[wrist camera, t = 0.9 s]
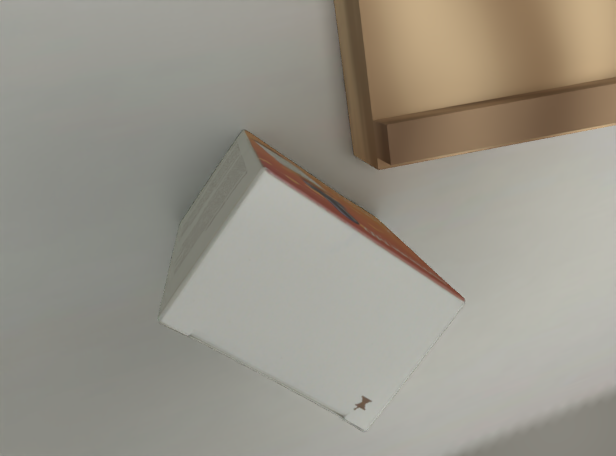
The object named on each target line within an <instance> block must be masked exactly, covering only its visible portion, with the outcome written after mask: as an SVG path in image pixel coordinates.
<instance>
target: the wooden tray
mask: <svg viewBox="0 0 616 456" xmlns="http://www.w3.org/2000/svg"><path fill="white" fill-rule="evenodd" d="M334 5H335V13H336V21H337V28H338V36H339V44H340V52H341V59H342V67H343V75H344V83H345V90H346V98H347V106H348V114H349V121H350V129H351V137H352V145H353V152H354V156H356V157H358V158H359V159H361V160H363V161H364V162H366V163H368V164H369V165H371V166H373V167H374V168H376V169H378V170H381V169H386V168H391V167H397V166H402V165H407V164H413V163H418V162H423V161H428V160H434V159H439V158H444V157H449V156H455V155H460V154H465V153H471V152H476V151H481V150H486V149H492V148H497V147H502V146H507V145H513V144H518V143H523V142H529V141H534V140H539V139H544V138H550V137H555V136H560V135H565V134H571V133H576V132H581V131H587V130H592V129H597V128H602V127H608V126H613V125H616V0H334Z"/></svg>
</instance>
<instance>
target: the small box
mask: <svg viewBox="0 0 616 456" xmlns="http://www.w3.org/2000/svg"><path fill="white" fill-rule="evenodd" d="M464 304H465V299H464V298H463V297H462V296H461V295H460V294H459V293H458V292H456V291H455V290H454V289H453V288H452V287H451V286H450V285H449V284H447V283H446V282H445V281H444V280H443V279H442V278H441V277H440V276H439V275H438V274H437V273H435V272H434V271H433V270H432V269H431V268H430V267H429V266H428V265H427V264H426V263H425V262H424V261H423V260H422V259H420V258H419V257H418V256H417V255H416V254H415V253H414V252H413V251H412V250H411V249H410V248H409V247H408V246H406V245H405V244H404V243H403V242H402V241H401V240H400V239H399V238H398V237H397V236H396V235H395V234H393V233H392V232H391V231H390V230H389V229H388V228H387V227H386V226H385V225H384V224H383V223H382V222H380V221H379V220H378V219H377V218H376V217H375V216H373V215H371V214H370V213H368V212H367V211H365V210H364V209H362V208H360V207H359V206H357V205H355V204H354V203H352V202H351V201H349V200H348V199H346V198H345V197H343V196H341V195H340V194H338V193H337V192H336V191H334V190H333V189H331V188H330V187H328V186H327V185H325V184H324V183H322V182H321V181H319V180H318V179H317V178H315V177H314V176H312V175H311V174H309V173H308V172H306V171H305V170H304V169H302V168H301V167H299V166H298V165H296V164H295V163H294V162H292V161H291V160H289V159H288V158H286V157H285V156H283V155H282V154H280V153H279V152H278V151H276V150H275V149H273V148H272V147H270V146H269V145H267V144H266V143H264V142H263V141H261V140H260V139H259V138H257V137H256V136H254V135H253V134H251V133H250V132H248V131H246V130H243V131H242V132H241V133H240V135H239V136H238V137H237V139H236V140H235V142H234V143H233V145H232V146H231V148H230V149H229V150H228V152H227V153H226V155H225V156H224V158H223V159H222V161H221V162H220V164H219V165H218V167H217V168H216V170H215V171H214V173H213V174H212V176H211V177H210V179H209V180H208V182H207V183H206V185H205V186H204V188H203V189H202V191H201V192H200V194H199V195H198V197H197V198H196V200H195V201H194V203H193V204H192V206H191V207H190V209H189V210H188V212H187V214H186V215H185V217H184V218H183V220H182V221H181V223H180V224H179V229H178V233H177V237H176V241H175V245H174V249H173V253H172V257H171V262H170V266H169V271H168V275H167V280H166V284H165V288H164V293H163V297H162V301H161V305H160V310H159V314H158V321H159V323H161V324H162V325H164V326H166V327H169V328H171V329H173V330H175V331H177V332H179V333H181V334H184V335H186V336H188V337H190V338H192V339H194V340H196V341H198V342H201V343H203V344H204V345H206V346H208V347H210V348H212V349H214V350H216V351H218V352H220V353H222V354H224V355H226V356H228V357H229V358H231V359H233V360H235V361H237V362H239V363H241V364H243V365H245V366H247V367H249V368H250V369H252V370H254V371H256V372H258V373H260V374H262V375H264V376H265V377H267V378H269V379H271V380H273V381H275V382H277V383H279V384H280V385H282V386H284V387H286V388H288V389H290V390H292V391H293V392H295V393H297V394H299V395H301V396H303V397H305V398H306V399H308V400H310V401H312V402H314V403H315V404H317V405H319V406H321V407H323V408H324V409H326V410H328V411H330V412H331V413H333V414H335V415H337V416H338V417H340V418H341V419H343V420H344V421H346V422H347V423H349V424H351V425H353V426H354V427H356V428H357V429H359V430H361V431H363V432H366V431H367V430H368V429H369V428H370V426H371V425H372V424H373V423H374V421H375V420H376V419H377V417H378V416H379V415H380V413H381V412H382V411H383V410H384V409H385V407H386V406H387V405H388V403H389V402H390V401H391V399H392V398H393V397H394V396H395V394H396V393H397V392H398V390H399V389H400V388H401V387H402V385H403V384H404V383H405V381H406V380H407V379H408V377H409V376H410V375H411V374H412V372H413V371H414V370H415V368H416V367H417V366H418V364H419V363H420V362H421V360H422V359H423V358H424V357H425V355H426V354H427V353H428V351H429V350H430V349H431V348H432V346H433V345H434V344H435V342H436V341H437V340H438V339H439V337H440V336H441V335H442V333H443V332H444V331H445V329H446V328H447V327H448V325H449V324H450V323H451V322H452V320H453V319H454V317H455V316H456V314H457V313H458V312H459V310H460V309H461V308H462V307H463V306H464Z"/></svg>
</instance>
